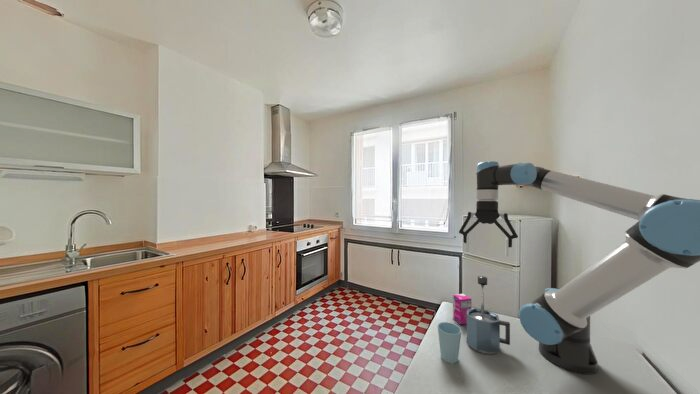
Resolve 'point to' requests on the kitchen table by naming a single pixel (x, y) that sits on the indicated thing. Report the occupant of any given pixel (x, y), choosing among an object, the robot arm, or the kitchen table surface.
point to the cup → (449, 341)
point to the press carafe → (486, 333)
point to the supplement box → (461, 308)
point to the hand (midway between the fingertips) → (486, 253)
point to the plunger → (482, 303)
